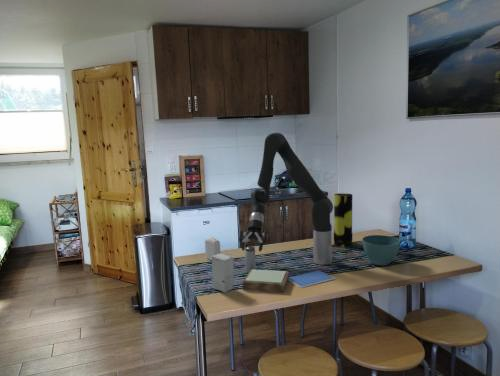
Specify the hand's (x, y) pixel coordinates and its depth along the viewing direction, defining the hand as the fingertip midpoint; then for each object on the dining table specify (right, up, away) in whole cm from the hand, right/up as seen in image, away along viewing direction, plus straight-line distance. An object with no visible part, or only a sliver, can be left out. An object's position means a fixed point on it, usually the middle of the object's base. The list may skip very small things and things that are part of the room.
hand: (251, 250), depth 204 cm
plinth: (+7, -12, -20) cm, 24 cm away
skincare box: (-13, -14, -23) cm, 29 cm away
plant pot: (+66, -7, +4) cm, 66 cm away
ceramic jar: (-1, -10, -3) cm, 10 cm away
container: (+54, -2, +37) cm, 66 cm away
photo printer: (-21, -8, +16) cm, 28 cm away
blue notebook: (+27, -12, -15) cm, 33 cm away
